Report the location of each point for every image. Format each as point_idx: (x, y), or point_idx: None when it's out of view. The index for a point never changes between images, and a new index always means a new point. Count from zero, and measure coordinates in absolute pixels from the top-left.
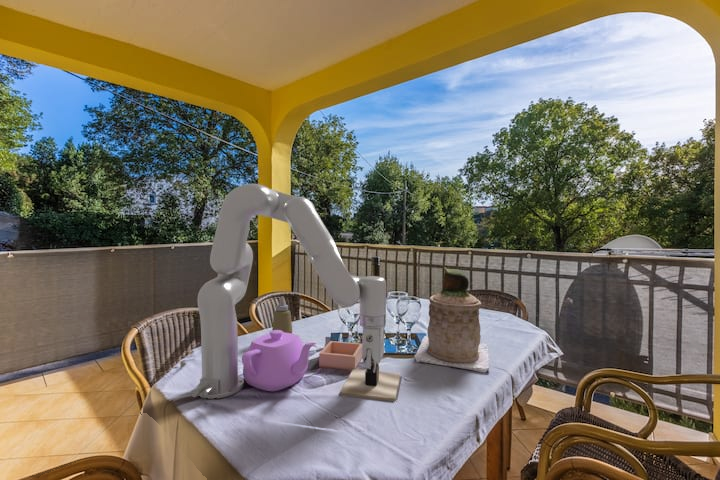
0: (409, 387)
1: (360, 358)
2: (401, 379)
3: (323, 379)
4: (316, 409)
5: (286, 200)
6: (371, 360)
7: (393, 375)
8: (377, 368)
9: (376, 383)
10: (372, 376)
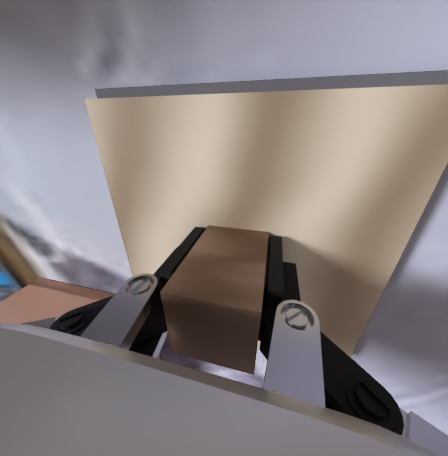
0: (202, 3)
1: (59, 294)
2: (130, 88)
3: (224, 373)
4: (441, 406)
5: None
6: (140, 341)
7: (124, 145)
8: (224, 290)
9: (276, 240)
10: (298, 297)
